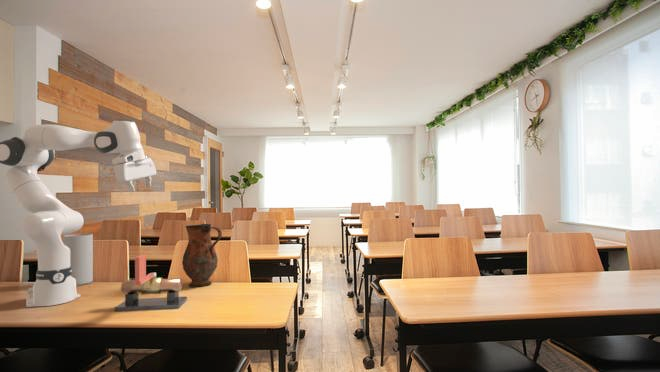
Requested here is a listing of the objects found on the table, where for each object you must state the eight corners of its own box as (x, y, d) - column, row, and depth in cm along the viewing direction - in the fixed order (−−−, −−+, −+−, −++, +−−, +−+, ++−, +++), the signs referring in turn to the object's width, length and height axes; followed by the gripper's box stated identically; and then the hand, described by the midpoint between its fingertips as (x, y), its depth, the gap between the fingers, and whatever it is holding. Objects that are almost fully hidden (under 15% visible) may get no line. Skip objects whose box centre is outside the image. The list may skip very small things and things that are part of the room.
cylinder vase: (91, 279, 193) (91, 233, 193) (94, 283, 183) (93, 234, 184) (62, 283, 185) (62, 234, 186) (63, 288, 175) (63, 237, 176)
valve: (114, 311, 139) (114, 282, 139) (127, 302, 150) (127, 275, 150) (178, 308, 141) (178, 280, 142) (186, 300, 152) (186, 273, 153)
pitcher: (197, 279, 189) (197, 222, 190) (231, 282, 182) (231, 223, 182) (174, 287, 174) (173, 225, 174) (209, 291, 166) (209, 226, 167)
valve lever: (150, 276, 147) (150, 250, 147) (157, 276, 147) (157, 250, 148) (133, 286, 131) (133, 257, 131) (141, 286, 132) (141, 257, 132)
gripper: (143, 156, 161) (151, 186, 163) (108, 160, 141) (117, 194, 143) (155, 154, 160) (163, 184, 162) (121, 158, 140) (130, 192, 142)
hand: (141, 189), depth 152 cm, fingers open, 8 cm apart
